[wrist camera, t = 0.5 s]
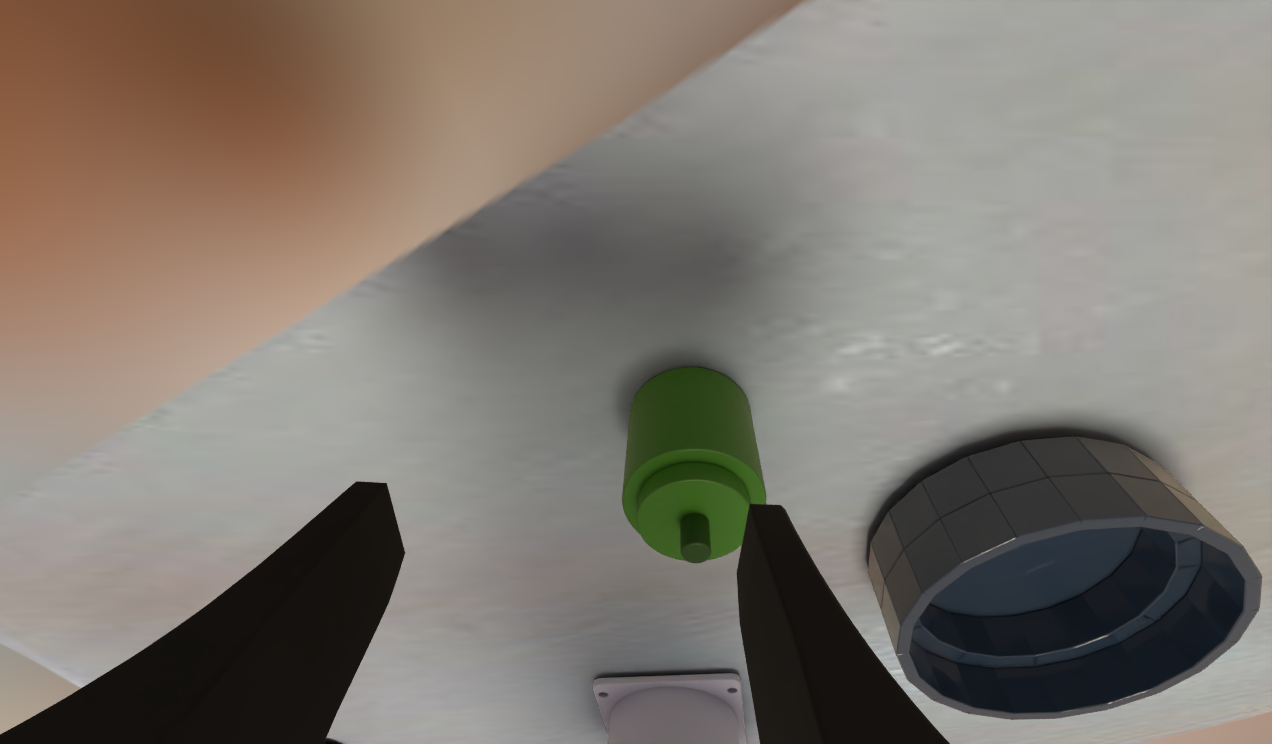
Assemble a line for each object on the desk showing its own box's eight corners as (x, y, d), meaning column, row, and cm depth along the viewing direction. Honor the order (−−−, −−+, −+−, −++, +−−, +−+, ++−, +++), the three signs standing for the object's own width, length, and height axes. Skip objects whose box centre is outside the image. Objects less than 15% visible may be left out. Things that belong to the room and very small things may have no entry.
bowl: (1121, 617, 28) (1191, 715, 25) (858, 629, 30) (886, 723, 26) (1215, 414, 22) (1329, 504, 18) (874, 442, 23) (914, 530, 20)
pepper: (752, 457, 24) (777, 599, 19) (638, 466, 25) (630, 607, 19) (747, 360, 22) (774, 490, 16) (621, 372, 22) (605, 502, 17)
